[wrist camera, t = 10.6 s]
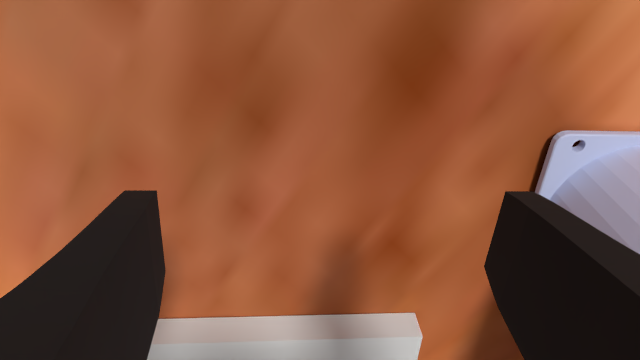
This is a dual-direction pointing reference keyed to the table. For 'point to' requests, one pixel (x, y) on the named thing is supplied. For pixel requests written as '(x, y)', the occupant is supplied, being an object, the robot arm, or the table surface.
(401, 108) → the table surface
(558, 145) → the robot arm
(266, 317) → the grey peg base
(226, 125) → the table surface
